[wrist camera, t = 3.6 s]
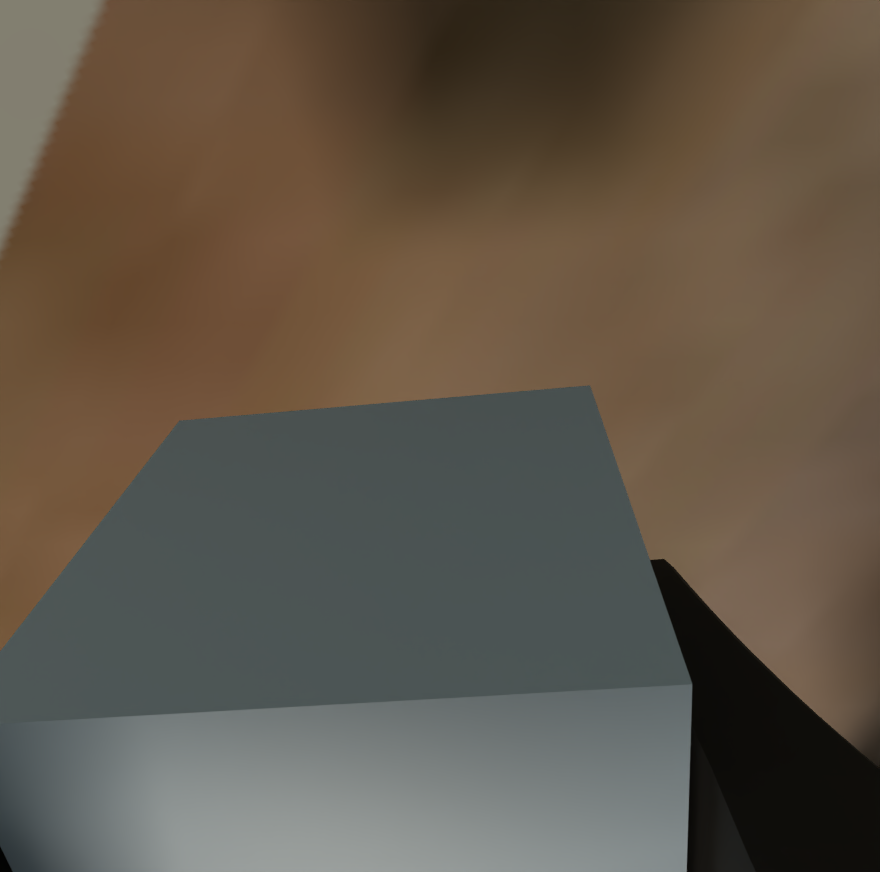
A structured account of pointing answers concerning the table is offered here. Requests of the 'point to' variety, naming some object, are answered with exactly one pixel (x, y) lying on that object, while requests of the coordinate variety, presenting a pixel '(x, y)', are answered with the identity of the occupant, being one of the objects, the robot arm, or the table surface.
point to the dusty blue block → (356, 656)
